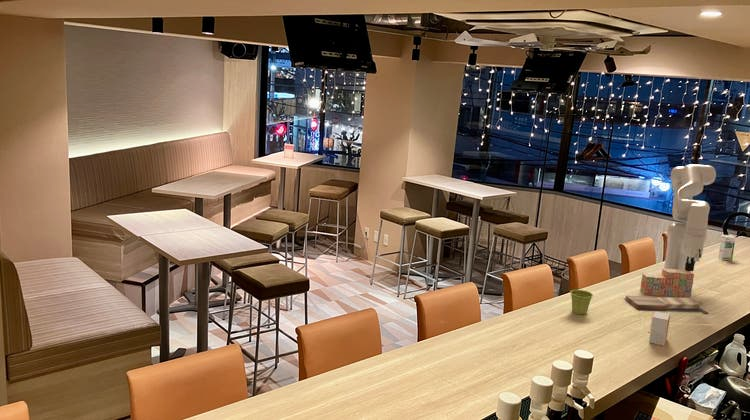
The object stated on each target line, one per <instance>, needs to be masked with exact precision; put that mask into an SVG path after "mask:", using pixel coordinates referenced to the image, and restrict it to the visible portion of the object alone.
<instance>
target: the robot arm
mask: <svg viewBox="0 0 750 420" xmlns="http://www.w3.org/2000/svg"><path fill="white" fill-rule="evenodd" d="M716 178H717V171H716V169H715V167H714V166H712V165H708V164H707V165H706V164H705V165H704V164H695V163H694V164H693V163H691V164H686V165H684V166H676V167H673V168H672V169H671V172H670V182H671V186H672V190H673V201H672V211H671V213H672V219H674V220H677V221H683V222H686V223H683V222H674V223H671V224H669V225H668V226H667V230H666V231H667V232H666V233H667V245H666V252H665V259H664V260H665V261H664V268H663V269H675V270H676V269H680V270H686V271H690V272H694V270H695V264H696V263H697V262H700V259H701V258H702V256H703V253H704V252H703V251H704V243H706V240H707V234H708V224H709V223H708V221H709V214H710V210H711V207H710V204H709V203H708V202H707V201H705V200H699V199H698V200H697V199H693V197H696V196H699V194H701V193H702V192H703V190H704V186H707V185H711V184H714V182H715V180H716Z"/></svg>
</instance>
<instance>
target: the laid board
mask: <svg viewBox="0 0 750 420" xmlns="http://www.w3.org/2000/svg"><path fill="white" fill-rule="evenodd" d="M625 298H626V299H624V300H625V301H626V302H627V301H628V302H627V303H628V304H629V305H631V306H632V305H633V306H632V307H634V308H635V309H636V308H637V309H652V310H666V307H667V305H665V304H664V303H662V302H661V301H659V300H658V299H656V297H655V296H654V295H651V296H648V295H647V296H646V295H625ZM637 309H636V310H637Z"/></svg>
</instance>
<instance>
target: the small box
mask: <svg viewBox="0 0 750 420" xmlns="http://www.w3.org/2000/svg"><path fill="white" fill-rule="evenodd" d="M670 319H671V314H670V313H666V312H662V311H654V314H653V315H652V317H651V325H650V330H649V331H650V332H649V337H648V338H649V340H648V343H649V344H653V343H654V345H658V346H662V347H664V346H665V345H666V343H667V340H668V335H669V333H668V332H669V326H670Z"/></svg>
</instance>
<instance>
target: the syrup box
mask: <svg viewBox="0 0 750 420" xmlns="http://www.w3.org/2000/svg"><path fill="white" fill-rule="evenodd" d="M735 243H736V236H734V235H731V234H730V235H729V234H721V238H720V244H719V249H718V250H719V252H718V259H720V258H721V259H722V261H731V260H732V261H733V256H734V249H735ZM721 259H720V260H721Z"/></svg>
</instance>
